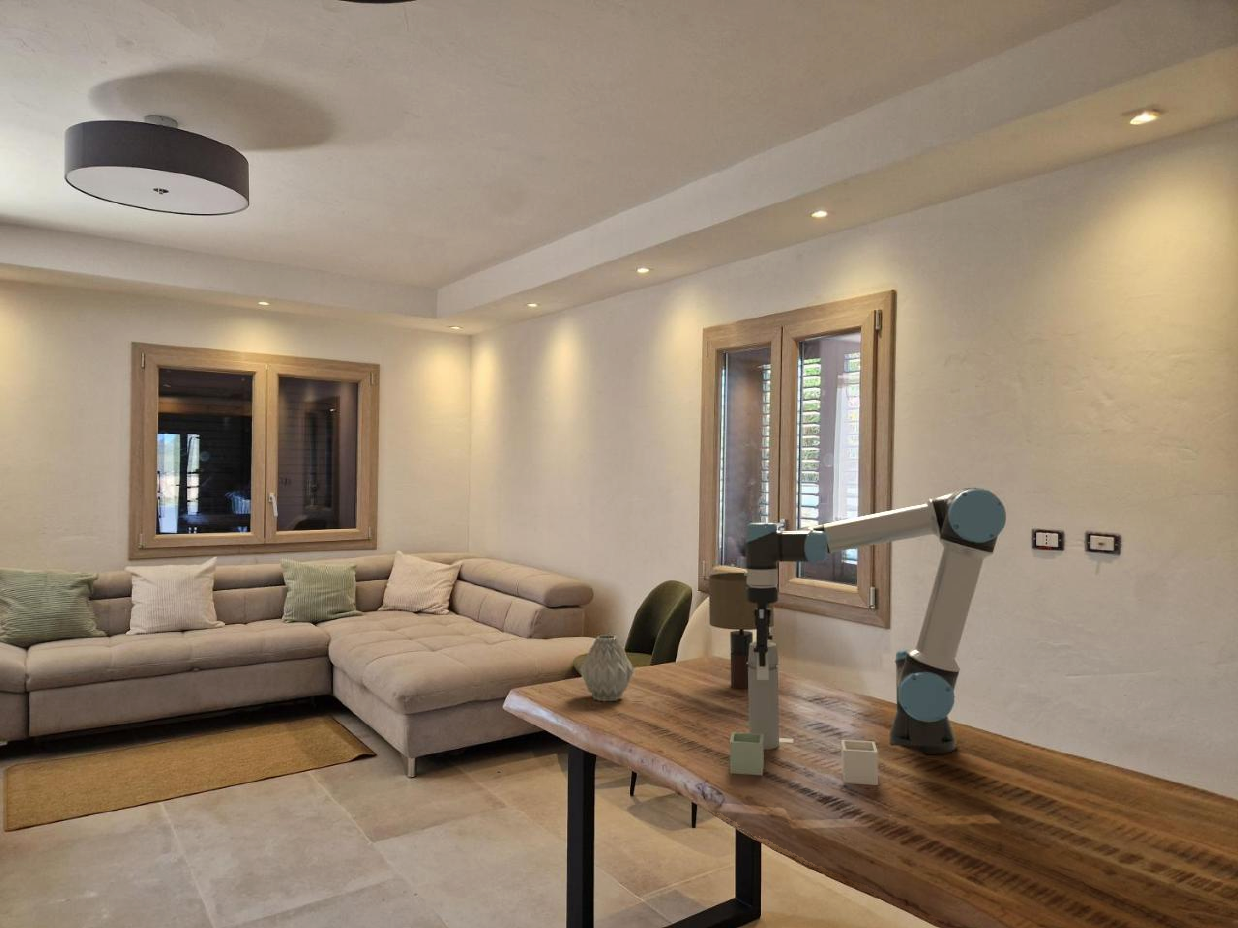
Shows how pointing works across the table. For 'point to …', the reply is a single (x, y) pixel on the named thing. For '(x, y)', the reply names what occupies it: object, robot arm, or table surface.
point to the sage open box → (747, 753)
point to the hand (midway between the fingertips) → (763, 672)
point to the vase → (607, 669)
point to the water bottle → (764, 697)
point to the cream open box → (859, 762)
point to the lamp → (734, 619)
